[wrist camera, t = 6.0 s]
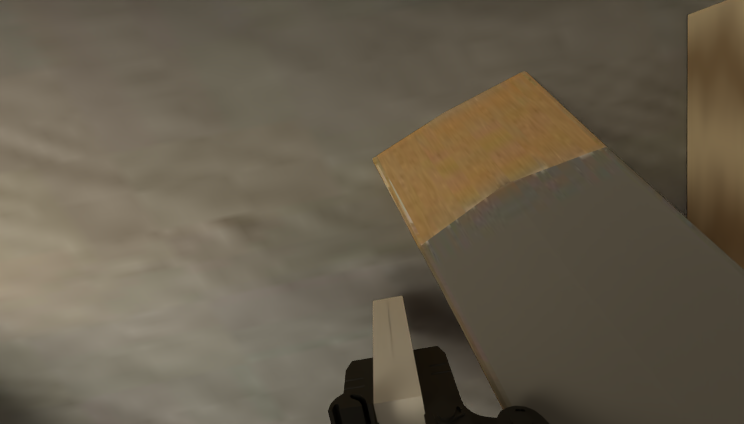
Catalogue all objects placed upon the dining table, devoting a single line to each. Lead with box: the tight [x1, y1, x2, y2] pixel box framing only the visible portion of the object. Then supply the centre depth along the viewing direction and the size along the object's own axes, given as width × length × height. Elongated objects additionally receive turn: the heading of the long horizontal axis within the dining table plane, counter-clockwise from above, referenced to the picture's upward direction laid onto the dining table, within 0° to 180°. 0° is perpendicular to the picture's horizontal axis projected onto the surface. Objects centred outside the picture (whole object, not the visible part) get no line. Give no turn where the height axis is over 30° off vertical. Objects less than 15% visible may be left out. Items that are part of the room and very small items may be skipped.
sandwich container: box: [373, 71, 744, 424], centre depth 10 cm, size 9×15×15 cm, turn 30°
